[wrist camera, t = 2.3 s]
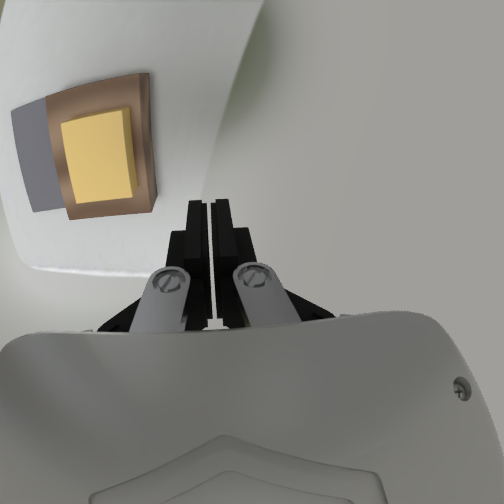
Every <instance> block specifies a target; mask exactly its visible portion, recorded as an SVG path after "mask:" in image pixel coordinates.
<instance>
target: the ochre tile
mask: <svg viewBox="0 0 504 504" xmlns="http://www.w3.org/2000/svg"><path fill="white" fill-rule="evenodd" d="M61 129H62V136H63V142H64V148H65V154H66V159H67V165H68V170H69V174H70V179H71V183H72V187H73V192H74V196H75V200H76V203H77V204H78V203H86V202H94V201H102V200H111V199H121V198H131V197H133V195H134V193H135V191H136V189H137V188H138V183H137V176H136V168H135V160H134V152H133V142H132V132H131V119H130V107H123V108H117V109H112V110H106V111H101V112H97V113H92V114H87V115H83V116H79V117H75V118H71V119H69V120H67V121H65V122H63V123H61Z"/></svg>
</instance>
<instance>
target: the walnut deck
mask: <svg viewBox="0 0 504 504" xmlns="http://www.w3.org/2000/svg"><path fill="white" fill-rule="evenodd" d="M45 100H46V110H47V119H48V127H49V134H50V140H51V146H52V152H53V157H54V162H55V167H56V171H57V176H58V180H59V184H60V188H61V192H62V196H63V200H64V203H65V207H66V210H67V214H68V217H69V220H76V219H85V218H94V217H104V216H114V215H126V214H137V213H150V212H152V210H153V207H154V204H155V201H156V198H157V189H156V180H155V171H154V161H153V150H152V138H151V123H150V103H149V73H138V74H132V75H126V76H121V77H116V78H111V79H106V80H101V81H97V82H93V83H89V84H85V85H81V86H78V87H74V88H71V89H67V90H64V91H61V92H58V93H55V94H52V95H49V96H46V97H45ZM123 107H130V119H131V132H132V142H133V152H134V160H135V168H136V176H137V183H138V188H137V189H136V191H135V193H134V195H133V197H131V198H121V199H111V200H102V201H94V202H86V203H78V204H77V203H76V200H75V196H74V192H73V187H72V183H71V179H70V174H69V170H68V165H67V159H66V154H65V148H64V142H63V136H62V129H61V123H63V122H65V121H67V120H69V119H71V118H75V117H79V116H83V115H87V114H92V113H97V112H101V111H106V110H112V109H117V108H123Z"/></svg>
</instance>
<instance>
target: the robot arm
mask: <svg viewBox="0 0 504 504" xmlns="http://www.w3.org/2000/svg"><path fill="white" fill-rule="evenodd" d="M211 223H212V246H213V265H214V281H215V296H216V309H217V318H223V326H227V327H228V328H230V329H217V330H202V329H204V328H205V327H208V321H207V319H212V318H213V315H212V301H211V280H210V258H209V243H208V242H209V241H208V221H207V203H202V200H192V201H189V204H188V213H187V222H186V230H182V231H172V232H171V236H170V242H169V248H168V254H167V260H166V267H164V268H161V269H159V270H157V271H155V272H154V273H153V274H152V275H151V276H150V278H149V279H148V282H147V284H146V287H145V289H144V292H143V295H142V297H141V298H139V299H138V300H137V301H135V302H134V303H133V304H131V305H130V306H128V307H127V308H125V309H124V310H123V311H121V312H120V313H118V314H117V315H115V316H114V317H113V318H111V319H110V320H108V321H107V322H106V323H104V324H103V325H102V326H101V327H100V328H99V329H98V330H97V332H93V330H92V329H91V330H86V331H77V332H76V331H47V332H36V333H31V334H27V335H24V336H21V337H18V338H16V339H14V340H12V341H10V342H9V343H7V344H6V345H5V346H4V347H3V349H2V350H1V352H0V504H504V456H503V452H502V449H501V446H500V442H499V439H498V435H497V432H496V429H495V426H494V423H493V420H492V418H491V415H490V412H489V410H488V407H487V405H486V403H485V400H484V398H483V396H482V393H481V391H480V389H479V387H478V385H477V382H476V380H475V378H474V376H473V374H472V372H471V370H470V368H469V366H468V365H467V363H466V361H465V359H464V357H463V356H462V354H461V352H460V351H459V349H458V347H457V346H456V344H455V343H454V341H453V340H452V338H451V337H450V336H449V334H448V333H447V332H446V331H445V329H444V328H443V327H442V326H441V325H440V324H439V323H438V322H437V321H436V320H434V319H433V318H431V317H429V316H426V315H424V314H420V313H415V312H409V311H380V312H372V313H364V314H356V315H345V314H340V316H339V317H335V316H334V315H333V314H332V313H330V312H329V311H327V310H325V309H323V308H321V307H319V306H317V305H315V304H313V303H311V302H309V301H307V300H305V299H303V298H301V297H299V296H298V295H296V294H293V293H292V292H290V291H288V290H286V289H284V288H283V286H282V284H281V282H280V280H279V279H278V277H277V275H276V273H275V272H274V270H273V269H272V268H271V267H269V266H268V265H265V264H263V263H258V262H257V260H256V256H255V252H254V248H253V245H252V240H251V236H250V232H249V229H248V228H247V227H244V228H233V224H232V218H231V212H230V206H229V200H228V199H216V203H211Z"/></svg>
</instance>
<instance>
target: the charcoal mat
mask: <svg viewBox="0 0 504 504" xmlns="http://www.w3.org/2000/svg"><path fill="white" fill-rule="evenodd" d="M11 117H12V125H13V132H14V138H15V144H16V149H17V154H18V159H19V163H20V168H21V172H22V176H23V180H24V183H25V187H26V191H27V194H28V198H29V201H30V204H31V207H32V210H33V212H39V211H45V210H52V209H59V208H66V207H65V203H64V200H63V196H62V192H61V188H60V184H59V180H58V176H57V171H56V167H55V162H54V157H53V152H52V146H51V140H50V134H49V127H48V119H47V110H46V100H45V98H43V99H40V100H37V101H34V102H32V103H29V104H27V105H24V106H22V107H19V108H17V109H15V110H12V111H11Z"/></svg>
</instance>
